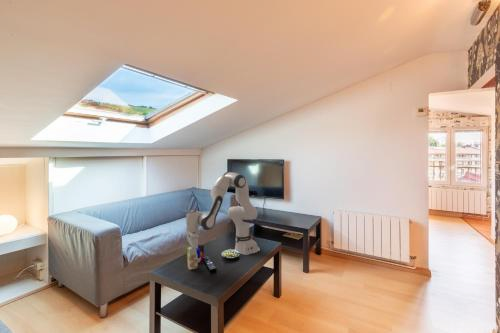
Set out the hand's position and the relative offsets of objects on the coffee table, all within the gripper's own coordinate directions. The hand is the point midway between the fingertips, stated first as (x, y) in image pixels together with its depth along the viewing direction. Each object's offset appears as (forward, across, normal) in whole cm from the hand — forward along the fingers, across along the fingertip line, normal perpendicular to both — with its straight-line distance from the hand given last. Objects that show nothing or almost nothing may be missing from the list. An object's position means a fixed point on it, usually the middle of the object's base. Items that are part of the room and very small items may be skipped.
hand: (192, 250), depth 188 cm
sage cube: (+3, 0, 0) cm, 3 cm away
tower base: (+13, 0, 0) cm, 13 cm away
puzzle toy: (+13, -13, +5) cm, 19 cm away
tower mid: (+8, 0, 0) cm, 8 cm away
